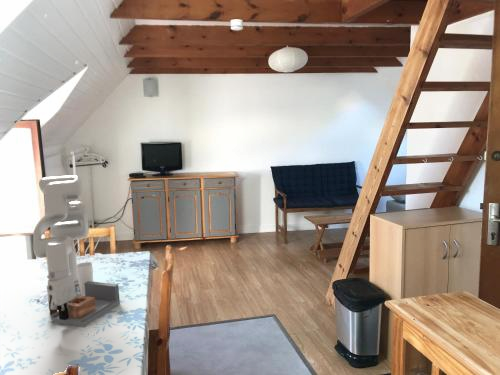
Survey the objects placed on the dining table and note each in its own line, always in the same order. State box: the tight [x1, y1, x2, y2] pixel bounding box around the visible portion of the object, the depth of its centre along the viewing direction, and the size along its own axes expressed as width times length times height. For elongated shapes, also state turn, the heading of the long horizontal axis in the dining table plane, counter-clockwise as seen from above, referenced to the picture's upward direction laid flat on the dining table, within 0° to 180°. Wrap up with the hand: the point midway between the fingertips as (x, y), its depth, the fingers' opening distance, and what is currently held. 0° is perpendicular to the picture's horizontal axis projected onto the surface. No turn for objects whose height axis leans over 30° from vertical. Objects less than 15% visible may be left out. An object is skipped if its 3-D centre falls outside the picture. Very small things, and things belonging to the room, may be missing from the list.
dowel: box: [46, 285, 58, 315], centre depth 173 cm, size 3×3×12 cm
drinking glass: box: [76, 261, 94, 296], centre depth 190 cm, size 7×7×15 cm
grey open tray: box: [50, 281, 121, 328], centre depth 172 cm, size 16×22×9 cm
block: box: [68, 294, 96, 318], centre depth 168 cm, size 9×9×5 cm
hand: (64, 318), depth 160 cm, fingers closed
